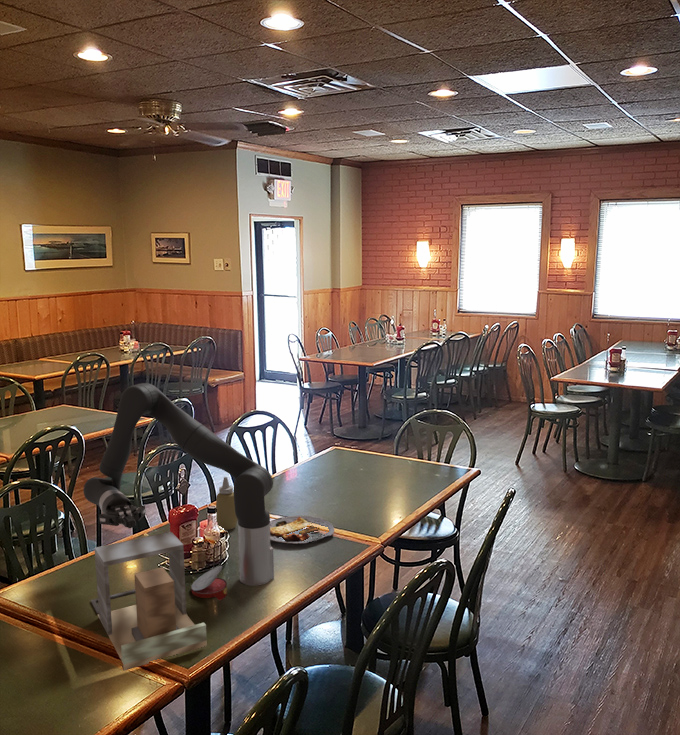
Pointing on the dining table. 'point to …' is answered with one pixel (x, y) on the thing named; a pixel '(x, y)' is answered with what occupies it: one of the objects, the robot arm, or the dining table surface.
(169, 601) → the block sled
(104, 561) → the tunnel
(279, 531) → the food plate
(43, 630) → the dining table surface
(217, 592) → the canned food
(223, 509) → the squeeze bottle
